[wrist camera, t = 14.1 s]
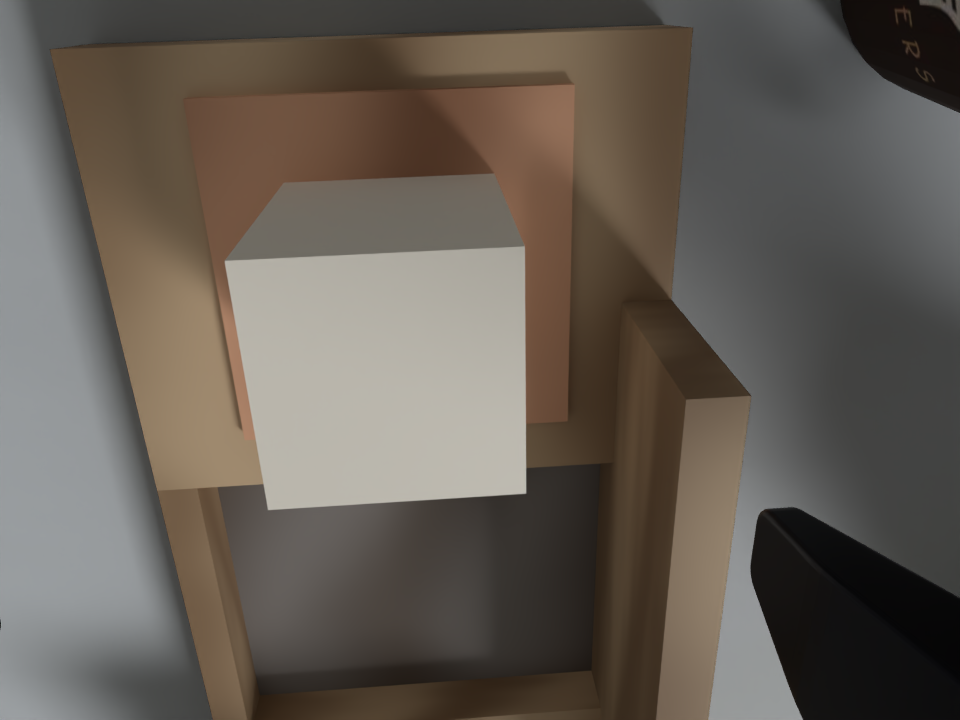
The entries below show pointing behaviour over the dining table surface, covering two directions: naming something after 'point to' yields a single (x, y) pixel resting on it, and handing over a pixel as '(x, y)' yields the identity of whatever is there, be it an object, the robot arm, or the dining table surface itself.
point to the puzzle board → (548, 356)
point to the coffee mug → (910, 44)
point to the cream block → (384, 340)
